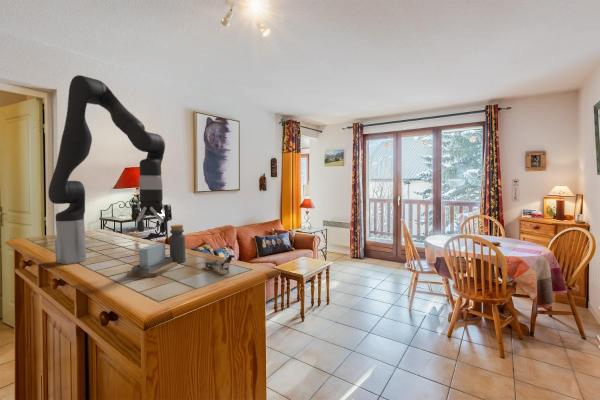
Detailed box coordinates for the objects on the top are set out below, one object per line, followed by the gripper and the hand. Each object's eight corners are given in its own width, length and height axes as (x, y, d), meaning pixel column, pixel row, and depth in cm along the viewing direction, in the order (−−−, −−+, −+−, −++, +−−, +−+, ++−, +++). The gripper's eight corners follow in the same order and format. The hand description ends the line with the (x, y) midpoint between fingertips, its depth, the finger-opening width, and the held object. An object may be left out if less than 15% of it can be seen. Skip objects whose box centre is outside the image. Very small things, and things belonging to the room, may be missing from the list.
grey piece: (125, 276, 104) (125, 267, 104) (151, 264, 119) (151, 256, 119) (155, 277, 103) (155, 268, 102) (178, 265, 118) (177, 257, 117)
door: (139, 271, 105) (138, 249, 105) (157, 262, 116) (157, 242, 116) (148, 271, 105) (147, 249, 104) (165, 263, 116) (165, 242, 115)
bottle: (188, 260, 125) (187, 224, 124) (181, 263, 119) (180, 226, 118) (174, 259, 126) (173, 224, 124) (167, 263, 120) (166, 226, 119)
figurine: (207, 277, 114) (234, 273, 105) (199, 271, 112) (226, 267, 103) (214, 264, 118) (240, 259, 109) (207, 258, 116) (233, 253, 107)
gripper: (125, 188, 106) (127, 233, 107) (163, 188, 104) (164, 234, 105) (139, 187, 113) (140, 229, 115) (174, 188, 112) (175, 230, 113)
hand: (152, 232), depth 110 cm, fingers open, 8 cm apart
